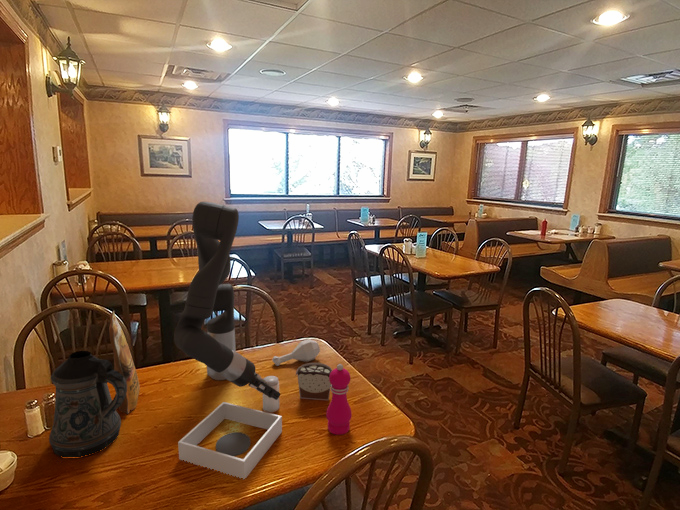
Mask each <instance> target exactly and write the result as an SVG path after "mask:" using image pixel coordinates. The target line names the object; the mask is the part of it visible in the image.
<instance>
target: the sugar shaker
mask: <svg viewBox="0 0 680 510" xmlns="http://www.w3.org/2000/svg"><path fill="white" fill-rule="evenodd" d="M263 379H264V380H265V381H267V382H268V385H269V386H271V387H273V389H275V390H276V391H278V392H279V393H280V381H279V377H277V376H274V375H268V376H265V377H263ZM262 409H263V412H267V413H274V412H277V411H278V410H279V409H280V397H279V398H278V399H277V400H275V399H274V398H272V397H271V398H269V397H268V396H267V395H265V394H264V393H262Z"/></svg>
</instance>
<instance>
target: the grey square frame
mask: <svg viewBox="0 0 680 510" xmlns="http://www.w3.org/2000/svg"><path fill="white" fill-rule="evenodd" d="M224 420H229V421H234V422H237V423H240V424H244V425H248V426H253V427H255V428H256V427H257V428H260V429H264V430H267V431H265V433H264V434H263V435H262V436H261V437H260V439H259V440H258V441H257V442H256V444H255V445H253V446H252V448H251V450H250V451H248V452H247V454H246V455H245V457H243V458H240V457H237V456H230V455H227V454H223V453H220V452H217V451H216V450H213V449H210V448H209V449H208V448H207V447H203V446H199V444H200V443H201V442H202V441H203V440H204V439H205V438H206V437H207V436H208V435H209V434H210V433H211V432H212V431H213V430H214V429H215V428H217V427H218V426H219V425H220V423H222V422H223V421H224ZM282 432H283V416H282V415H278V414H275V413H272V412H266V411H264V410H263V411H262V410H259V409H254V408H250V407H245V406H242V405H237V404H233V403H230V402H226V401H223V402H222V403H220V404H219V405H217V407H216V408H215V409H214V410H213V411H211V412H210V413H209V414H208V415H206V417H205V418H204V419H202V420H201V421H200V422H199V423H198V424H197V425H196V426H194V427H193V428H192V429H191V430H189V432H188V433H186V434H185V435H184V436H183V437H182V438H181V439H180V440H179V441H178V442H177V443H178V444H177V446H178V459H179V460H180V461H183V460H184V461H183V462H186V461H187V462H186V463H189V462H190V463H189V464H192V463H193V465H195V466H199V465H200V466H199V467H202V466H203V467H202V468H205V467H207V468H206V469H209V468H210V469H209V470H212V469H214V470H213V471H215V470H217V471H216V472H218V471H220V472H219V473H222V472H223V473H222V474H225V473H226V474H225V475H228V474H229V475H228V476H231V475H232V476H231V477H235V476H236V477H235V478H238V477H239V478H238V479H241V478H243V479H242V480H244V479H245V478H246V479H247V477H248V476H249V475H250V474H251V472H253V470H254V468H256V466H257V464H258V463H260V461H261V460H262V458H263V457H264V455H265V454H266V453H267V452H268V450H270V448H271V447H272V445H273V444H274V442H275V441H276V440H277V439H278V438H279V436H280V435H281V434H282ZM246 479H245V480H246Z"/></svg>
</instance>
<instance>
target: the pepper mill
mask: <svg viewBox="0 0 680 510" xmlns="http://www.w3.org/2000/svg"><path fill="white" fill-rule="evenodd" d="M329 381H330V383H331V387H330V392H331V394H332V396H331V399H330V400H331V401H330V402H329V405H328V407H327V409H326V414H325V416H326V420H327V430H328V431H329V432H330V433H331V434H333V435H337V436H339V435H345V434H347V433H348V432H349V430H350V428H351V425H350V421H351V419H352V409H351V406H350V404H349V401H348V397H347V394H348V391H349V384H350V382H351V374H350V372H349V370H347V369H346V368H344V365H343V364H342V363H339V364H337V366H336V368H333V369H332V371H331V373H330V375H329Z"/></svg>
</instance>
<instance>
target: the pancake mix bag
mask: <svg viewBox="0 0 680 510" xmlns="http://www.w3.org/2000/svg"><path fill="white" fill-rule="evenodd" d="M109 320H110V324H109V328H108V330H109V341H110V345H111V349H112V352H113V370H116V371H118V372H120V374H122V375H123V377H124V378H125V380H126V382H127V393H126V396H125V399H124V400H123V402H122V404H121V405H120V406H119V407H118V410H119V412H121V411H122V412H121V413H123V412H124V414H129V413H130V412H131V411H133V410H135V409H136V407H137V404H138V399H139V394H140V388H141V387H140V386H141V385H140V381H139V377H138V373H137V369H136V366H135V363H134V360H133V357H132V354H131V351H130V347H129V344H128V343H127V342H128V341H127V339H126V336H125V334H124V331H123V329H122V326H121V325H120V322H119V321H118V319H117V317H116V314H115V310H113V311H112V312H111V313H110V314H109ZM130 410H131V411H130Z"/></svg>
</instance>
